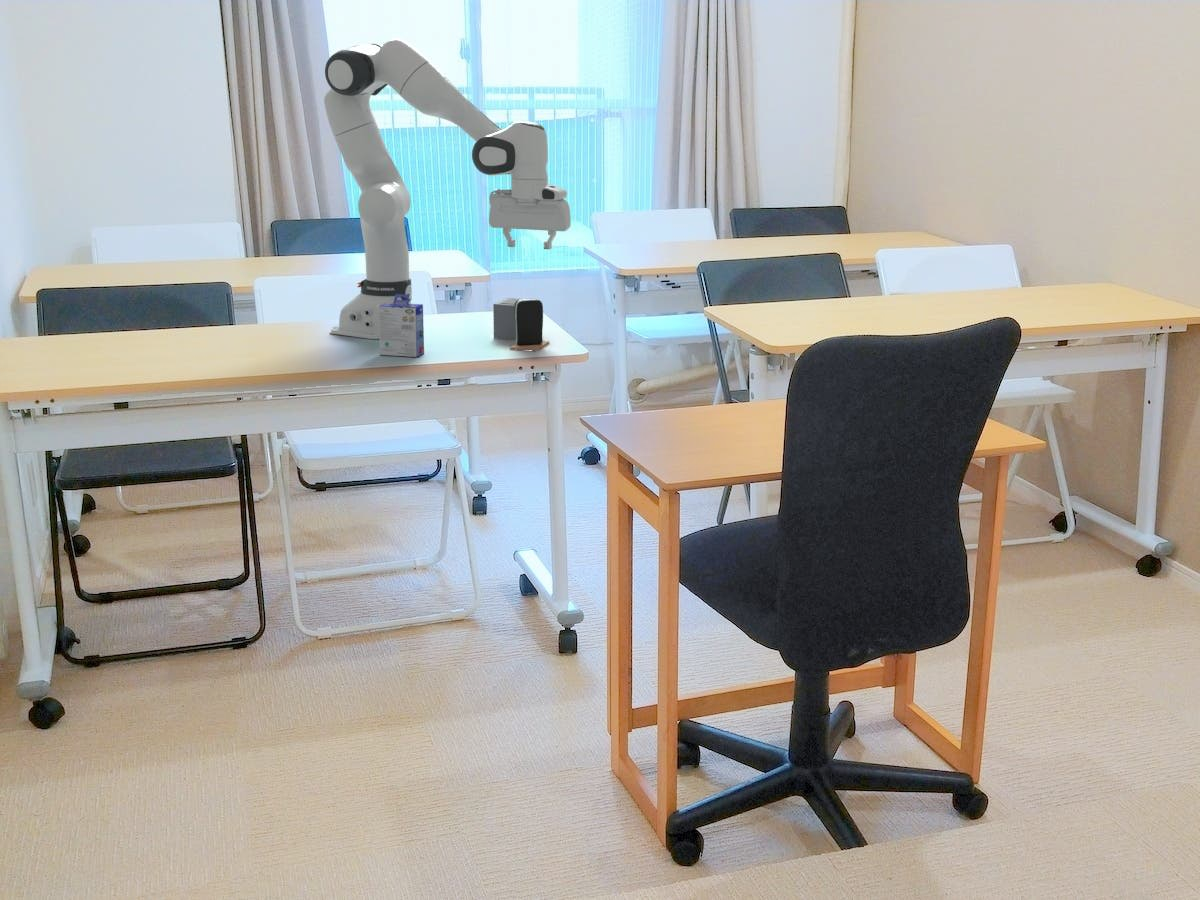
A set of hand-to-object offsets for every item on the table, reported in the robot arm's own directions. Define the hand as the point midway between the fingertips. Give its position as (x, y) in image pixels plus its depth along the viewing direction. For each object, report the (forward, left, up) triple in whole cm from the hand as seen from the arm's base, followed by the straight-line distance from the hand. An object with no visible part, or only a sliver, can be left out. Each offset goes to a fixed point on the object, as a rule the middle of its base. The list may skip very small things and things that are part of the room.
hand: (529, 248), depth 290 cm
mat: (0, 0, -25) cm, 25 cm away
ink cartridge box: (-26, -19, -25) cm, 41 cm away
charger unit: (-8, +11, -25) cm, 28 cm away
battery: (0, 0, -24) cm, 24 cm away
